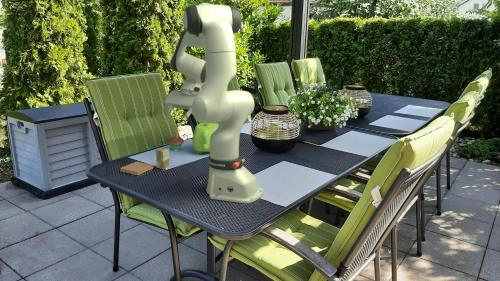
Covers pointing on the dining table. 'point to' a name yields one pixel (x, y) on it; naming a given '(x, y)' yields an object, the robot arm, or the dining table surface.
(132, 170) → the tile
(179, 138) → the cupcake
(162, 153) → the post
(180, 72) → the robot arm
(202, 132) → the teapot
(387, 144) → the dining table surface
